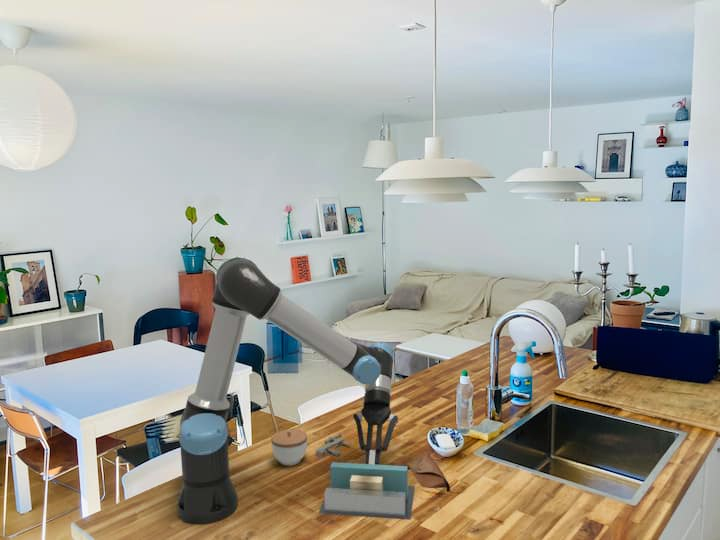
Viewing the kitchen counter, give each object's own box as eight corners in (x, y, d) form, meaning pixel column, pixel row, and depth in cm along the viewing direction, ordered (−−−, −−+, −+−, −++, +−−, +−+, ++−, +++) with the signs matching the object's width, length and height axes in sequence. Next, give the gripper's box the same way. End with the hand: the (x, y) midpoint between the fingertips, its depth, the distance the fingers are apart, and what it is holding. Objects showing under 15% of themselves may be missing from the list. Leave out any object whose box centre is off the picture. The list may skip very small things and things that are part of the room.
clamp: (329, 455, 174) (306, 446, 181) (329, 462, 175) (306, 453, 181) (361, 438, 186) (338, 430, 192) (361, 445, 186) (339, 437, 192)
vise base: (318, 517, 144) (317, 494, 144) (331, 485, 160) (330, 464, 159) (410, 524, 141) (410, 500, 140) (414, 490, 156) (414, 468, 156)
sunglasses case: (402, 463, 171) (413, 444, 171) (422, 473, 173) (433, 453, 173) (420, 495, 154) (432, 473, 154) (441, 505, 155) (454, 483, 155)
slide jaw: (331, 495, 152) (330, 466, 151) (333, 490, 155) (332, 462, 154) (407, 500, 149) (406, 470, 148) (407, 495, 152) (407, 466, 151)
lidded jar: (314, 456, 178) (313, 427, 177) (296, 472, 168) (295, 441, 167) (284, 450, 182) (283, 422, 181) (265, 465, 173) (263, 435, 171)
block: (350, 506, 147) (349, 481, 146) (352, 500, 150) (351, 475, 149) (381, 508, 146) (381, 482, 145) (383, 502, 149) (382, 476, 148)
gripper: (401, 399, 170) (396, 481, 156) (357, 398, 172) (348, 479, 158) (399, 388, 164) (394, 472, 150) (353, 387, 166) (345, 470, 152)
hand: (371, 475), depth 154 cm, fingers closed
